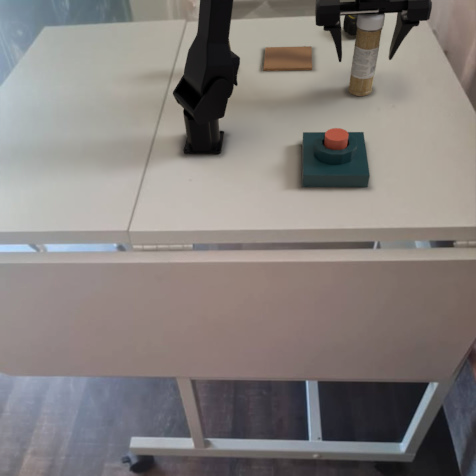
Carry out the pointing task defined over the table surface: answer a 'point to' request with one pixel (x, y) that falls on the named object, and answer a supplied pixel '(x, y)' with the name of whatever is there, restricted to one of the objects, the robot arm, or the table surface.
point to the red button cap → (336, 139)
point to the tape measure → (350, 24)
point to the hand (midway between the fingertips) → (364, 60)
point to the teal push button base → (334, 162)
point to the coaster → (287, 58)
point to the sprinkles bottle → (365, 53)
